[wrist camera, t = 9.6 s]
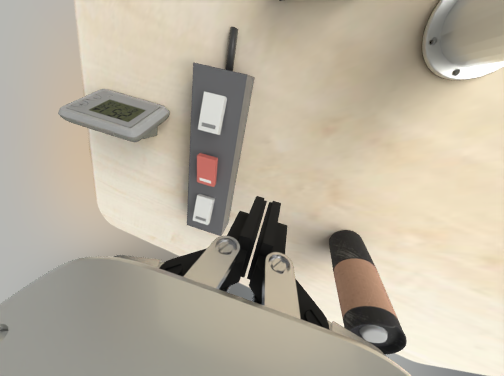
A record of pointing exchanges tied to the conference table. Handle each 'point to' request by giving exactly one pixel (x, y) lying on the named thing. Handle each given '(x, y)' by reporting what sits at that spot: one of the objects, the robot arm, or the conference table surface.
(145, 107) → the digital clock
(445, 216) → the conference table surface
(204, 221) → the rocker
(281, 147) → the conference table surface
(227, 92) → the power strip
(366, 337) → the travel mug
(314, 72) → the conference table surface
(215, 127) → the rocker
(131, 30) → the conference table surface
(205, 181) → the rocker middle
